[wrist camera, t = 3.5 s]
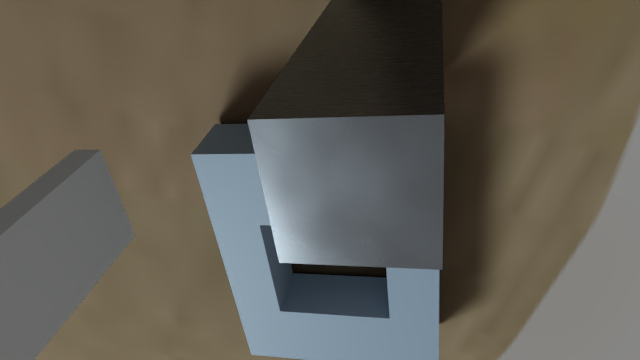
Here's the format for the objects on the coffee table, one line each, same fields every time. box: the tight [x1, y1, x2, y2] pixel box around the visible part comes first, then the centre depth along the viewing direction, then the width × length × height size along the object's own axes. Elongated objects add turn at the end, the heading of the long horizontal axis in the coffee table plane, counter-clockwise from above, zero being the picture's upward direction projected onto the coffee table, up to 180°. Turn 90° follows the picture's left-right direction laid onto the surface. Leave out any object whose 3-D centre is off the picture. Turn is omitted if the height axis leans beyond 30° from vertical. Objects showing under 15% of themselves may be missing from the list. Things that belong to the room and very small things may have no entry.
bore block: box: [191, 124, 439, 360], centre depth 26 cm, size 14×11×3 cm
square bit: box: [247, 0, 444, 270], centre depth 16 cm, size 4×4×12 cm
